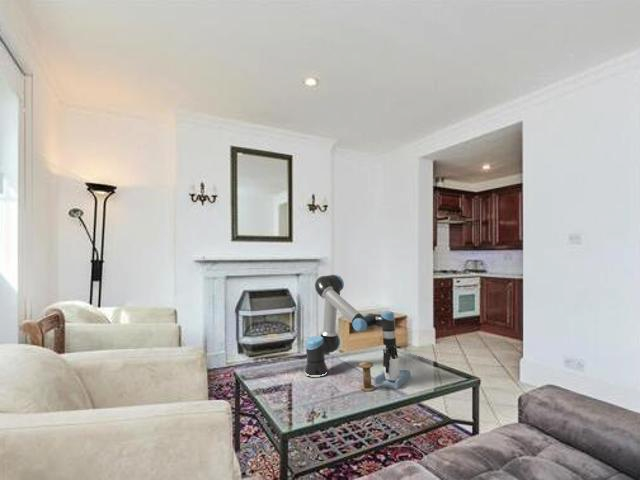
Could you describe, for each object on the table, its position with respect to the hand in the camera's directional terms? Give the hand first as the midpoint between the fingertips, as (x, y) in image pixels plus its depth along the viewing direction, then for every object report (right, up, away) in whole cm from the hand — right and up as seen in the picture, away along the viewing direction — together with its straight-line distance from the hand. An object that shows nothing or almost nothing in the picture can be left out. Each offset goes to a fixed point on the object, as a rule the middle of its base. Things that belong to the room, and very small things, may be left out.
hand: (391, 375), depth 206 cm
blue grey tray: (+1, -4, +1) cm, 4 cm away
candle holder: (0, -2, 0) cm, 2 cm away
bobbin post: (-16, -4, -8) cm, 18 cm away
